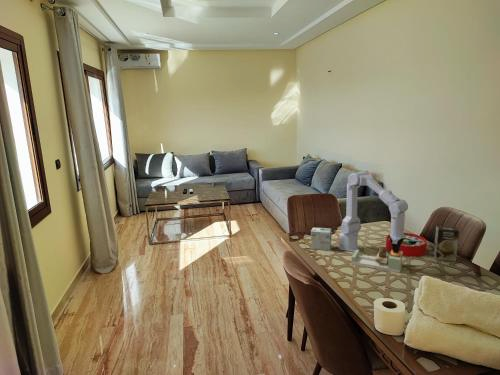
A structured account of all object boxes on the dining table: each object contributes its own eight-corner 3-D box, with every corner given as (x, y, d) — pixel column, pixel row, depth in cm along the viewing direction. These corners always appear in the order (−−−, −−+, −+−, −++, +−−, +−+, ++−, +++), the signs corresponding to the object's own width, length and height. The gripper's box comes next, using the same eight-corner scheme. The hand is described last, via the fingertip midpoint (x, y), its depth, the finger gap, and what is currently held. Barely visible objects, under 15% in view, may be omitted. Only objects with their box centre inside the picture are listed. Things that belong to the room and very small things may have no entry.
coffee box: (435, 259, 171) (438, 229, 167) (433, 254, 176) (435, 225, 173) (456, 261, 168) (459, 230, 164) (453, 256, 174) (456, 226, 170)
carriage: (375, 263, 165) (375, 250, 163) (378, 257, 172) (378, 244, 170) (386, 265, 162) (387, 251, 161) (388, 259, 169) (389, 245, 168)
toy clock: (383, 232, 195) (420, 233, 191) (382, 241, 196) (419, 242, 193) (390, 245, 176) (432, 247, 172) (389, 256, 177) (431, 257, 173)
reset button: (389, 265, 163) (389, 253, 162) (390, 261, 167) (391, 249, 166) (400, 267, 161) (400, 255, 160) (401, 263, 165) (401, 251, 164)
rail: (351, 264, 170) (351, 252, 168) (356, 256, 178) (356, 244, 177) (399, 272, 159) (400, 260, 158) (401, 264, 168) (402, 251, 166)
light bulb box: (331, 246, 193) (331, 228, 190) (330, 251, 186) (330, 232, 184) (312, 244, 196) (312, 226, 194) (310, 249, 190) (310, 230, 188)
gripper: (405, 231, 152) (403, 260, 155) (408, 222, 164) (406, 248, 167) (388, 229, 155) (386, 257, 158) (392, 220, 167) (391, 246, 170)
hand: (395, 252), depth 163 cm, fingers closed, pressing on reset button
